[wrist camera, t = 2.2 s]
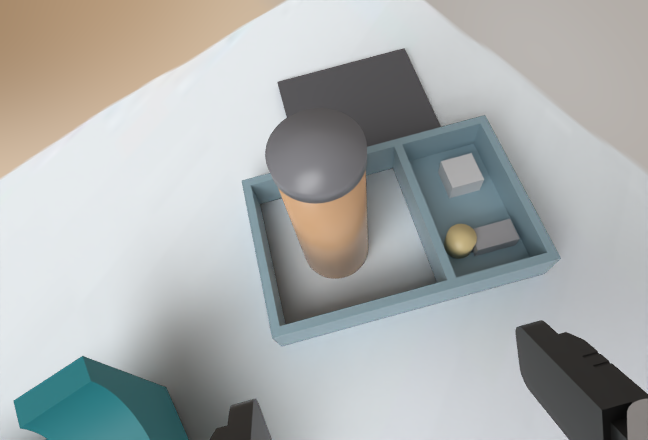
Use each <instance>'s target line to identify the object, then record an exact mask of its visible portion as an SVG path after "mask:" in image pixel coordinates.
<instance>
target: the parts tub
mask: <svg viewBox="0 0 648 440" xmlns="http://www.w3.org/2000/svg"><path fill="white" fill-rule="evenodd" d="M391 168H393V169H394V172H395V174H396V177H397V180H398V182H399V185H400V188H401V190H402V193H403V195H404V198H405V201H406V203H407V206H408V208H409V211H410V214H411V216H412V219H413V221H414V224H415V227H416V229H417V232H418V235H419V237H420V240H421V242H422V245H423V248H424V250H425V253H426V255H427V258H428V261H429V263H430V266H431V268H432V271H433V274H434V276H435V279H436V282H437V283H435V284H431V285H428V286H424V287H420V288H417V289H413V290H410V291H406V292H402V293H399V294H395V295H391V296H388V297H384V298H380V299H377V300H373V301H370V302H366V303H362V304H359V305H355V306H351V307H348V308H344V309H341V310H337V311H333V312H330V313H326V314H322V315H319V316H315V317H312V318H308V319H304V320H301V321H297V322H293V323H290V324H286V325H285V320H284V315H283V310H282V306H281V301H280V296H279V291H278V287H277V282H276V277H275V272H274V268H273V263H272V258H271V254H270V249H269V244H268V239H267V235H266V230H265V225H264V220H263V216H262V211H261V206H260V204H262V203H265V202H269V201H273V200H276V199H280V198H282V196H281V194H280V191H279V189H278V187H277V186H276V184H275V183H274V181H273V179H272V176H271V174H270V173H268V174H265V175H261V176H257V177H254V178H250V179H246V180H242V185H243V190H244V195H245V201H246V206H247V211H248V216H249V221H250V226H251V231H252V237H253V242H254V247H255V252H256V257H257V262H258V267H259V272H260V278H261V283H262V288H263V293H264V298H265V303H266V308H267V313H268V319H269V324H270V329H271V334H272V338H273V339H274V340H275V341H276V342H277V343H278V344H279V345H280V346H284V345H288V344H292V343H295V342H299V341H303V340H306V339H310V338H313V337H317V336H321V335H324V334H328V333H331V332H335V331H339V330H342V329H346V328H350V327H353V326H357V325H360V324H364V323H368V322H371V321H375V320H379V319H382V318H386V317H389V316H393V315H397V314H400V313H404V312H407V311H411V310H415V309H418V308H422V307H426V306H429V305H433V304H436V303H440V302H444V301H447V300H451V299H455V298H458V297H462V296H465V295H469V294H473V293H476V292H480V291H483V290H487V289H491V288H494V287H498V286H502V285H505V284H509V283H512V282H516V281H520V280H523V279H527V278H531V277H534V276H538V275H541V274H545V273H546V272H547V271H548V270H549V269H550V268H551V267H552V266H553V265H554V264H555V263H557V262H558V261H559V260H560V259H561V258H560V256H559V254H558V252H557V250H556V248H555V246H554V244H553V243H552V241H551V239H550V237H549V235H548V233H547V231H546V229H545V227H544V226H543V224H542V222H541V220H540V218H539V216H538V214H537V212H536V210H535V209H534V207H533V205H532V203H531V201H530V199H529V197H528V195H527V193H526V192H525V190H524V188H523V186H522V184H521V182H520V180H519V178H518V176H517V175H516V173H515V171H514V169H513V167H512V165H511V163H510V161H509V159H508V158H507V156H506V154H505V152H504V150H503V148H502V146H501V144H500V143H499V141H498V139H497V137H496V135H495V133H494V131H493V129H492V127H491V126H490V124H489V122H488V120H487V118H486V116H485V115H484V116H480V117H476V118H473V119H469V120H465V121H462V122H458V123H454V124H450V125H447V126H443V127H439V128H436V129H432V130H428V131H424V132H421V133H417V134H413V135H410V136H406V137H402V138H398V139H395V140H391V141H387V142H384V143H380V144H376V145H372V146H369V147H367V166H366V175H369V174H373V173H376V172H380V171H384V170H387V169H391Z"/></svg>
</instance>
